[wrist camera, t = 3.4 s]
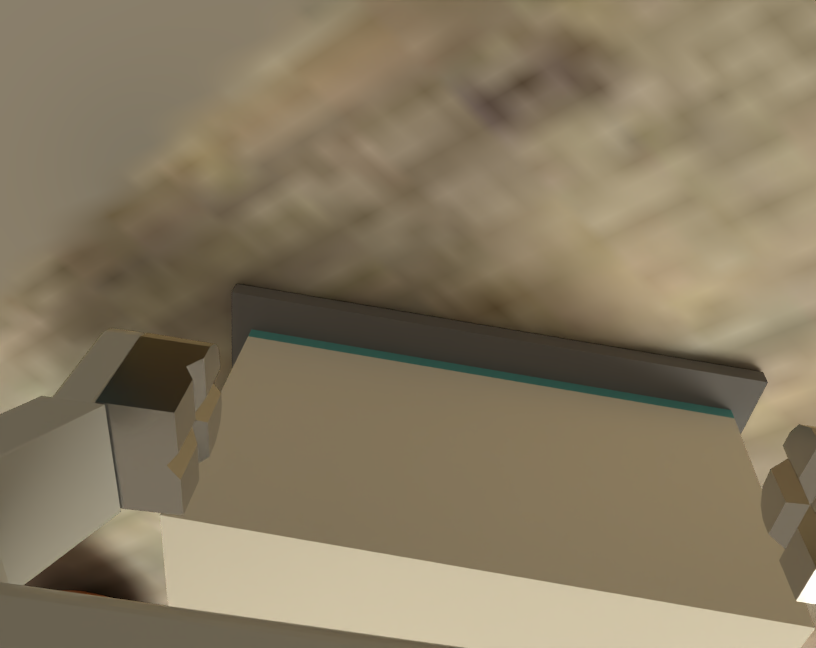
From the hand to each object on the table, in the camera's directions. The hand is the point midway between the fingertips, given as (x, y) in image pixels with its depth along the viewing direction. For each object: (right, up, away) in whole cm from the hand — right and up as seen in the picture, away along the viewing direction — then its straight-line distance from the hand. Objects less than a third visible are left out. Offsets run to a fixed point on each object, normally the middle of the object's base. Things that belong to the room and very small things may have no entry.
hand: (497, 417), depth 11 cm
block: (0, -2, +9) cm, 10 cm away
